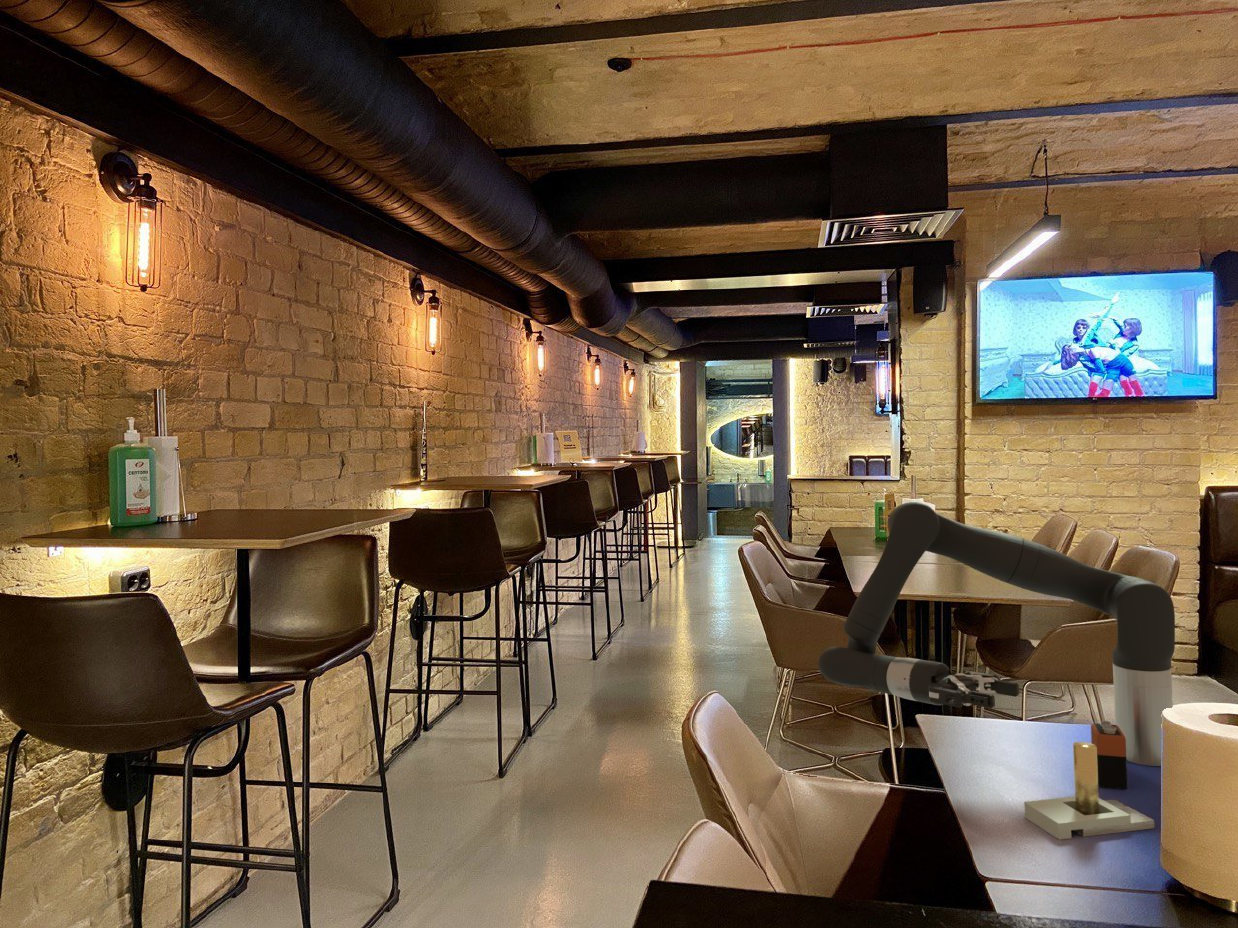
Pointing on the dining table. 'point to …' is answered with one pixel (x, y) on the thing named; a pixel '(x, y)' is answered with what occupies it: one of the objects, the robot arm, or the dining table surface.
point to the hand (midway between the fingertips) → (1006, 695)
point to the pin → (1086, 778)
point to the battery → (1110, 755)
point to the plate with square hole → (1071, 816)
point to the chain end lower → (1136, 823)
